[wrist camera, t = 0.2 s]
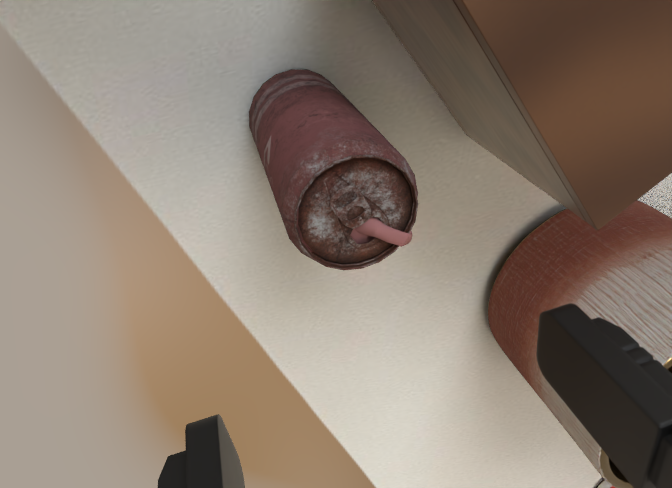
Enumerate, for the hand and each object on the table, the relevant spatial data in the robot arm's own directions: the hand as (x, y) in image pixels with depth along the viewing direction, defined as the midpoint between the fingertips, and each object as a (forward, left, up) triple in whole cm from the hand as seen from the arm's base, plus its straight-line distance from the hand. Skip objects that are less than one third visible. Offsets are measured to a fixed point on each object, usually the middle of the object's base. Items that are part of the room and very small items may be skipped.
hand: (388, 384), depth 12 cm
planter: (+23, +24, -24) cm, 41 cm away
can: (+2, +2, -24) cm, 24 cm away
